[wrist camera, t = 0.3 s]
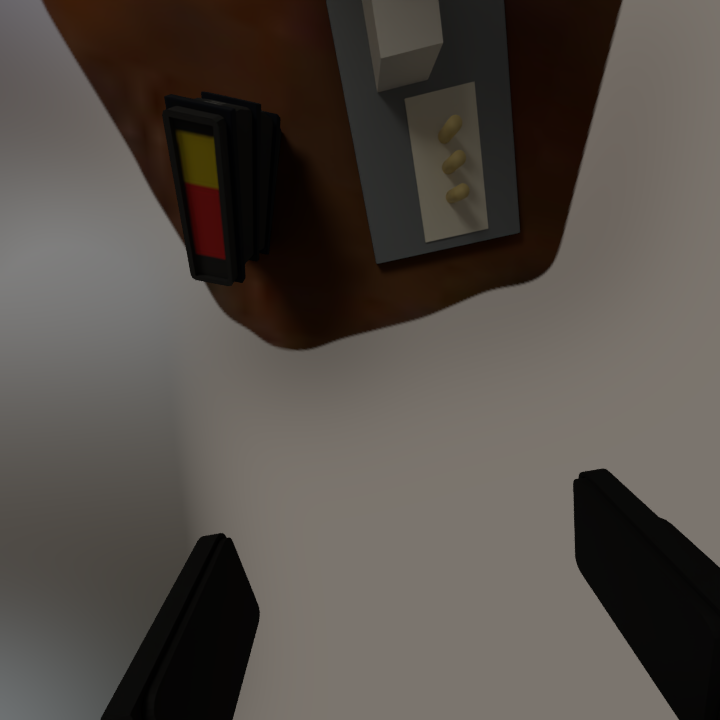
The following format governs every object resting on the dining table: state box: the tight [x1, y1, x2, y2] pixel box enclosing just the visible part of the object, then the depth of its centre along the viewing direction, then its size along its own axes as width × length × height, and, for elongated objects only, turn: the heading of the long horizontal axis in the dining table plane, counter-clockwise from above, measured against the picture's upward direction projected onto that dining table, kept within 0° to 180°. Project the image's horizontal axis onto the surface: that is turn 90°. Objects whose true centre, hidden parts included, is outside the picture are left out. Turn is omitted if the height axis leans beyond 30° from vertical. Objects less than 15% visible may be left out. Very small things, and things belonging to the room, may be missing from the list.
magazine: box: [162, 92, 281, 286], centre depth 29 cm, size 4×13×15 cm, turn 169°
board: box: [326, 0, 520, 264], centre depth 30 cm, size 24×14×5 cm, turn 12°
